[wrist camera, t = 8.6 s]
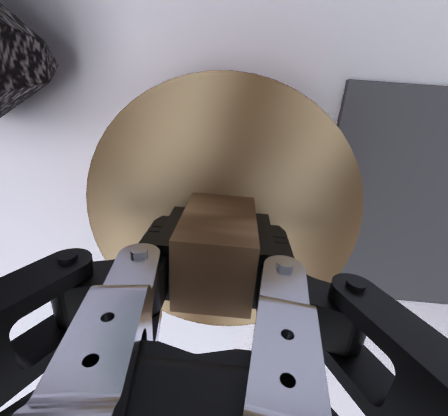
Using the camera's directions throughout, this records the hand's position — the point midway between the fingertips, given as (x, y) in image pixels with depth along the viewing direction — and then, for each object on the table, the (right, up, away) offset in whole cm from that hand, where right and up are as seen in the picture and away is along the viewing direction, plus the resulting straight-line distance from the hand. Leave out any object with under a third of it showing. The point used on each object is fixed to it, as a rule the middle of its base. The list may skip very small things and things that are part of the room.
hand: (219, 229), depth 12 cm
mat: (+15, +1, +7) cm, 17 cm away
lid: (0, +1, +1) cm, 1 cm away
